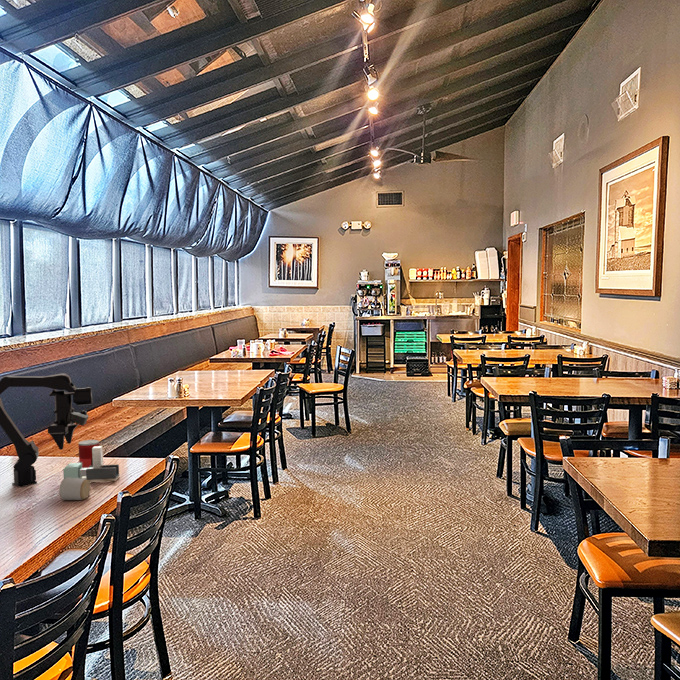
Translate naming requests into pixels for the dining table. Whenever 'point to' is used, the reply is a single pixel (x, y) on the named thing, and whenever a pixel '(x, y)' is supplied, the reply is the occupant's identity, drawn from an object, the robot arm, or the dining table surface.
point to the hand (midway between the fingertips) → (65, 446)
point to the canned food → (86, 452)
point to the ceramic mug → (74, 489)
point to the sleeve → (103, 472)
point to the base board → (100, 479)
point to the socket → (72, 470)
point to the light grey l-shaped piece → (97, 460)
